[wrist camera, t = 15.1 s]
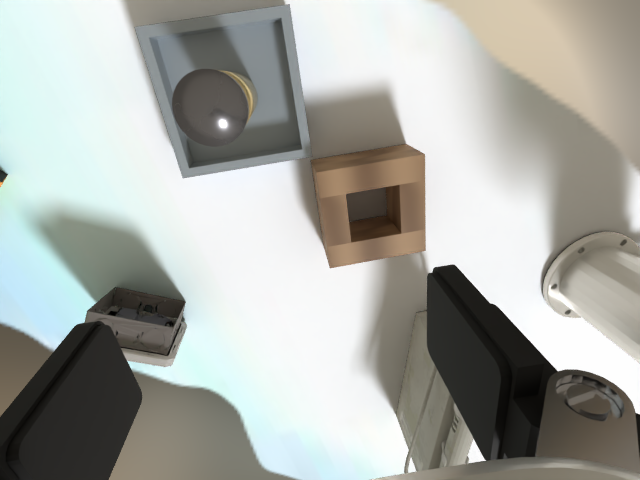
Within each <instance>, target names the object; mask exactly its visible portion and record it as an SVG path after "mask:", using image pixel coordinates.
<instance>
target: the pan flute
mask: <svg viewBox="0 0 640 480" xmlns="http://www.w3.org/2000/svg"><path fill="white" fill-rule="evenodd" d="M7 175H8V174H6V173H4V172H3V171H1V170H0V187H1V185H2V184H3V182H4V180H5V179H6V177H7Z"/></svg>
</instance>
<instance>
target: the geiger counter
mask: <svg viewBox="0 0 640 480" xmlns="http://www.w3.org/2000/svg"><path fill="white" fill-rule="evenodd" d="M396 416H397V419H398V422H399V424H400V427H401V430H402V433H403V435H404V438H405V441H406V444H407V446H408V449H409V452H408V455H407V458H406V463H405V470H404V473H408V466H409V461H410V458H411V457H412V460H413V463H414V465H415V468H416V471H423V470H430V469H436V468H443V467H449V466H456V465H462V464H468V462H469V458H468V456H467V455H468V452H469V449H470V447H471V444H472V441H473V436H472V434H471V433H470V431H469V429H468V427H467V425H466V423H465V421H464V419H463V417H462V416H461V414H460V412H459V410H458V408H457V406H456V404H455V402H454V400H453V398H452V397H451V395H450V393H449V391H448V389H447V387H446V385H445V383H444V381H443V379H442V378H441V376H440V374H439V372H438V370H437V368H436V366H435V364H434V362H433V361H432V359H431V357H430V355H429V352H428V348H427V311H423V312H418V313H416V316H415V321H414V326H413V331H412V336H411V341H410V347H409V352H408V357H407V362H406V367H405V372H404V377H403V382H402V388H401V393H400V398H399V403H398V408H397V413H396Z"/></svg>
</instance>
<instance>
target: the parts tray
mask: <svg viewBox="0 0 640 480" xmlns="http://www.w3.org/2000/svg"><path fill="white" fill-rule="evenodd" d="M135 30H136V33H137V37H138V40H139V43H140V46H141V49H142V52H143V55H144V58H145V62H146V65H147V68H148V71H149V74H150V77H151V80H152V83H153V87H154V90H155V93H156V96H157V99H158V102H159V105H160V108H161V112H162V115H163V118H164V121H165V124H166V127H167V130H168V134H169V137H170V140H171V143H172V146H173V149H174V152H175V155H176V159H177V162H178V165H179V168H180V171H181V174H182V177H183V178H188V177H194V176H200V175H206V174H212V173H218V172H224V171H230V170H236V169H242V168H248V167H254V166H260V165H266V164H271V163H277V162H283V161H289V160H295V159H301V158H307V157H312V152H311V145H310V139H309V132H308V125H307V119H306V112H305V105H304V98H303V92H302V85H301V78H300V71H299V65H298V58H297V51H296V44H295V38H294V31H293V24H292V17H291V11H290V4H288V5H281V6H274V7H267V8H261V9H254V10H247V11H240V12H233V13H226V14H220V15H213V16H206V17H199V18H192V19H185V20H179V21H172V22H165V23H158V24H151V25H144V26H138V27H135ZM198 69H214V70H221V71H228V72H235V73H240V74H242V75H244V76H246V77H247V78H248V79H250V81H251V82H252V83H253V84H254V86H255V88H256V91H257V96H258V100H257V106H256V108H255V110H254V112H253V114H252V115H251V117H250V119H249V121H248V123H247V124H246V126H245V128H244V130H243V131H242V133H241V134H240V135H239V136H238V137H237V139H235V140H234V141H232V142H231V143H229V144H226V145H223V146H217V147H211V146H205V145H202V144H199V143H197V142H195V141H193V140H192V139H190V138H189V137H188V136H187V135H186V134H185V133H184V132H183V131H182V130H181V129H180V127H179V126H178V124H177V122H176V120H175V117H174V114H173V110H172V97H173V93H174V90H175V87H176V85H177V84H178V82H179V81H180V80H181V79H182V78H183V77H184V76H185V75H186V74H188V73H190V72H192V71H194V70H198Z"/></svg>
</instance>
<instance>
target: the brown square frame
mask: <svg viewBox="0 0 640 480" xmlns="http://www.w3.org/2000/svg"><path fill="white" fill-rule="evenodd" d="M311 165H312V172H313V179H314V185H315V192H316V198H317V205H318V212H319V218H320V225H321V232H322V238H323V245H324V249H325V253H326V256H327V259H328V263H329V266H330V268H334V267H340V266H345V265H351V264H356V263H362V262H367V261H373V260H378V259H383V258H389V257H394V256H400V255H405V254H411V253H416V252H422V251H425V154H423V153H422V152H420V151H418V150H416V149H414V148H413V147H411V146H409V145H407V144H403V145H397V146H391V147H385V148H379V149H374V150H368V151H362V152H356V153H350V154H344V155H338V156H332V157H326V158H320V159H314V160H311ZM383 187H385V190H386V207H387V215H386V216H380V217H375V218H369V219H363V220H358V221H352V222H349V218H348V209H347V200H346V194H349V193H355V192H360V191H366V190H372V189H378V188H383Z"/></svg>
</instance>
